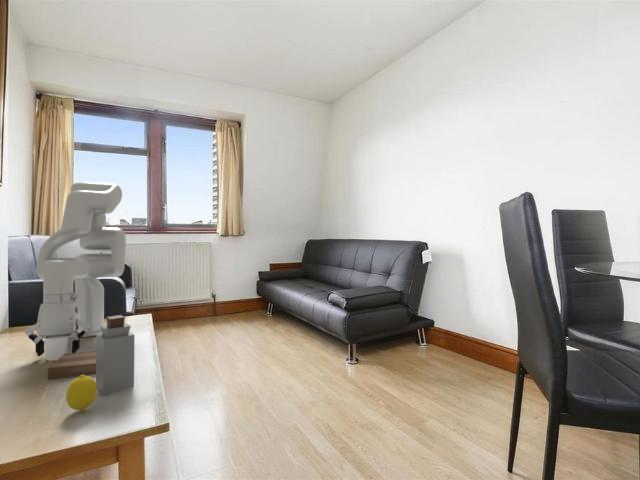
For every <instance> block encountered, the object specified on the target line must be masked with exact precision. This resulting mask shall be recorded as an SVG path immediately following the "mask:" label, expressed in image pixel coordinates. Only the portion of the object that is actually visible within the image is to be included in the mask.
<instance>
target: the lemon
mask: <svg viewBox="0 0 640 480" xmlns="http://www.w3.org/2000/svg"><path fill="white" fill-rule="evenodd" d="M97 394H98V390H97V385H96V379H94V378H93V377H92V376H91V375H80V376H77V377H76V378H74V379H73V380H72V381H71V382H70V383H69V385H68V387H67V390H66V394H65V396H66V397H65V398H66V403H67V406H68V407H69V408H71V409H72V410H75V411H78V412H80V413H81V412H83V411H85V410H86V409H87V408H89V407H90V406H91V405H92V404H93V403H94V402H95V400H96V398H97Z"/></svg>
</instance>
